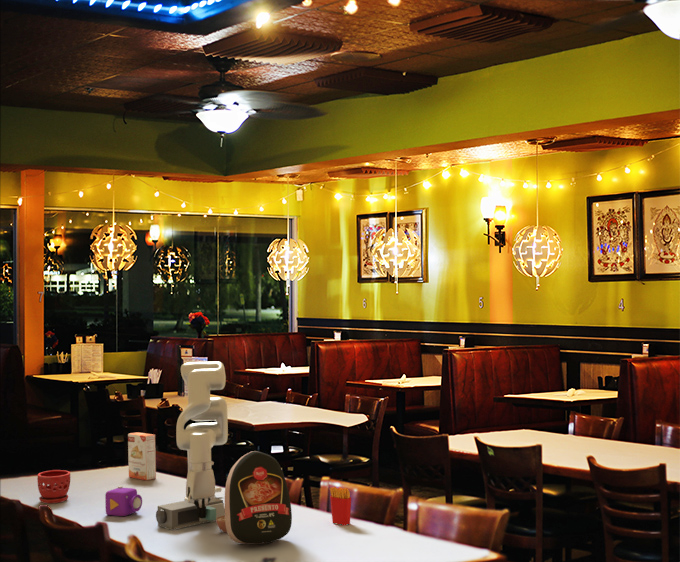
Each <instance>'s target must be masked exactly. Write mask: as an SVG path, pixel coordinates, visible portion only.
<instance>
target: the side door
mask: <svg viewBox="0 0 680 562" xmlns="http://www.w3.org/2000/svg"><path fill="white" fill-rule="evenodd" d="M224 515H225V502H223V503H218V504H213V505H208V506H206V518H199V521H201V522H202V521H207V520H210V521H212V520H216V518H218V517H220V516H224ZM212 522H213V521H212Z"/></svg>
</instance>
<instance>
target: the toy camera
mask: <svg viewBox="0 0 680 562" xmlns="http://www.w3.org/2000/svg"><path fill="white" fill-rule="evenodd" d="M104 495H105V496H104V497H105V502H104V503H105V514H106V515H107V516H114V517H126V516H128V515H129V516H130V515H132V514H134V513H137V512H139V511H140V510H141V508H142V505H143V497H142V496H141V494H138V491H137V489H136V488H135V487H134V488H133V487H132V488H131V487H123V486H122V485H119V486H117V488H114V489H110V490H108V491H106V493H105V494H104Z"/></svg>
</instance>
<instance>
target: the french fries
mask: <svg viewBox="0 0 680 562" xmlns="http://www.w3.org/2000/svg"><path fill="white" fill-rule="evenodd" d="M329 491H330V496H329V498H330V509H331V520H332V524H333V523H337V524H336V525H338V524H342V525H341V526H348V525H347V524H349V525H351V512H352V511H351V510H352V509H351V508H352V497H351V492H350V490H349V489H348V488H347V487H341V486H339V487H337V486H332V487H329Z"/></svg>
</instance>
